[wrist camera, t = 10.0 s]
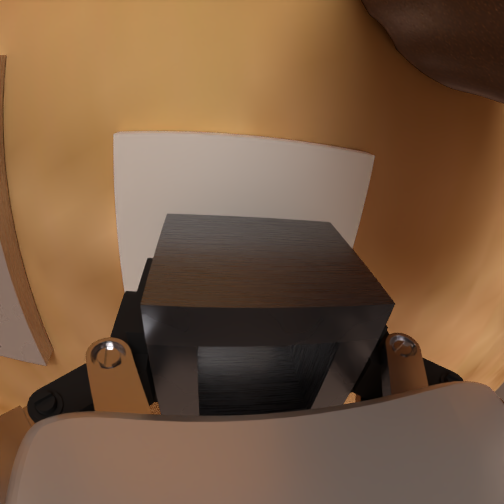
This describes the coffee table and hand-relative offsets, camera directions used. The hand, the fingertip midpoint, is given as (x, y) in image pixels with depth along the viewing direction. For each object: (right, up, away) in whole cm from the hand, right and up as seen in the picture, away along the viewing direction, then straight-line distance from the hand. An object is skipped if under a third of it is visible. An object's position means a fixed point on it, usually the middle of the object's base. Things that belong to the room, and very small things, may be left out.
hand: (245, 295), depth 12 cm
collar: (0, 0, +1) cm, 1 cm away
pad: (0, +2, +3) cm, 3 cm away
